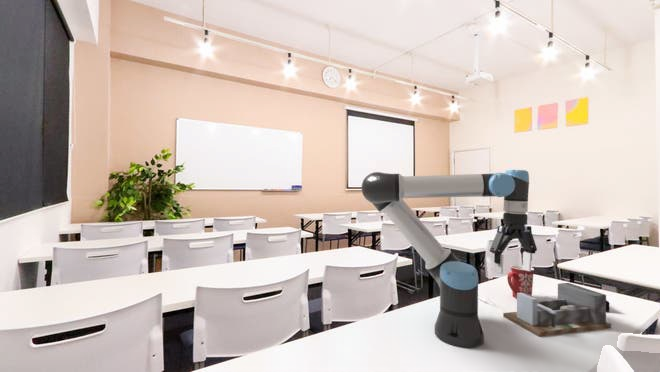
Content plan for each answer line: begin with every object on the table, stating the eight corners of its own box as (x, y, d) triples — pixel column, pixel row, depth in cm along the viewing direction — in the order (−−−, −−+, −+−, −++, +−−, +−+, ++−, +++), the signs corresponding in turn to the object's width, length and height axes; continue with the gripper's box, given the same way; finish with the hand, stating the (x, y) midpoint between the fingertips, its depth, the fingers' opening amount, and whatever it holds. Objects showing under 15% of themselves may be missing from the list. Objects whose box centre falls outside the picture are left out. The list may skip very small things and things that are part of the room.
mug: (520, 293, 145) (520, 264, 145) (539, 299, 136) (539, 269, 136) (499, 296, 141) (499, 266, 141) (516, 303, 133) (517, 271, 133)
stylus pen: (474, 298, 138) (474, 294, 138) (479, 298, 139) (479, 293, 139) (502, 313, 124) (502, 308, 124) (507, 312, 125) (507, 308, 125)
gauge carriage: (542, 330, 104) (542, 303, 104) (516, 317, 115) (517, 292, 115) (562, 328, 106) (562, 301, 106) (536, 315, 116) (536, 291, 116)
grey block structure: (539, 336, 103) (539, 302, 103) (503, 316, 119) (503, 286, 119) (611, 328, 109) (611, 295, 109) (567, 310, 125) (567, 281, 125)
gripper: (497, 213, 104) (495, 276, 105) (549, 213, 113) (547, 272, 113) (480, 211, 111) (477, 270, 112) (530, 211, 120) (528, 266, 120)
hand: (512, 271), depth 112 cm, fingers open, 13 cm apart
